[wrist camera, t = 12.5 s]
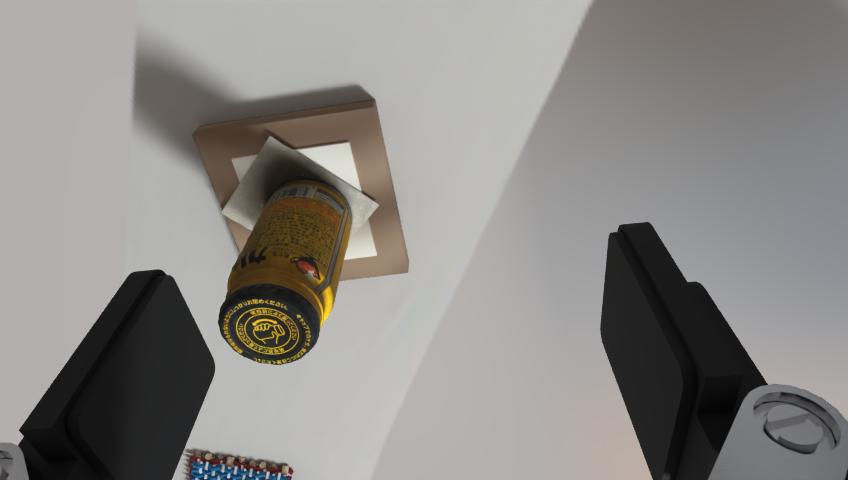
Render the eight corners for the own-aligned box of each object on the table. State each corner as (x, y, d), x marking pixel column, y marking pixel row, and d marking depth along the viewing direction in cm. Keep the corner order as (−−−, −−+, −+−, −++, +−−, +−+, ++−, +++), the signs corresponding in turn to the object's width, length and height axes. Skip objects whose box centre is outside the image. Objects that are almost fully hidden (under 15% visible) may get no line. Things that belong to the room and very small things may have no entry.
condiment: (325, 270, 41) (290, 395, 31) (221, 211, 38) (147, 327, 28) (379, 203, 38) (361, 317, 28) (271, 133, 35) (207, 232, 25)
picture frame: (200, 126, 37) (190, 135, 35) (375, 99, 35) (373, 108, 34) (260, 279, 44) (255, 292, 42) (408, 261, 42) (408, 274, 41)
